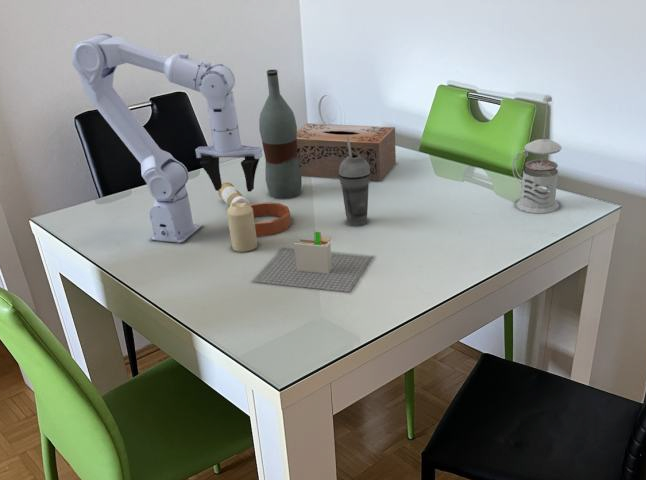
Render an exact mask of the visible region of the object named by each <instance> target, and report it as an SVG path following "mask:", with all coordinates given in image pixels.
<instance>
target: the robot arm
mask: <svg viewBox="0 0 646 480" xmlns="http://www.w3.org/2000/svg"><path fill="white" fill-rule="evenodd" d="M125 64H129V65H131V66H136V67H139V68H142V69H146V70H150V71H153V72H157V73H160V74H164V75H165V76H166V78H167V81H169V82H170V83H171V84H175V85H178V86H180V87H184V88H187V89H190V90H193V91H195V92H199V93H200V94H201V95H202V96H203V97H204V98H205V100H206V106H207V114H208V119H209V124H210V131H211V137H212V142H213V143H212V144H213V145H207V146H205V145H204V146H198V147H197V148H195V149H194V150H195V156H196V159H200V161H199V164H200V167H201V168H202V169H203V170H204V171H205V172H206V175H208V178H209V179H210V181H211V183H212V186H213V188H214V191H217V192H218V190H220V189H221V188H222V184H223V183H222V178H221V173H220V158H230V159H231V158H232V159H233V158H234V159H237V158H239V159H242V158H243V160H241V161H240V165H241V169H242V171H243V174H244V179H245V187H246V191H247V192H248V193H249V192H252V191H253V190H254V189H255V178H256V172H257V169H258V165H259V162H260V159H261V158H262V157H263V150H262V149H263V148H262V147H261V146H251V145H244V144H242V141H241V135H240V129H239V122H238V115H237V108H236V102H235V97H234V91H232V90H233V88H234V86H235V83H236V78H235V75H234V73H233V71H232V70H231V68H229V67H227V66H226V65H224V64H222V63H215V64H214V65H212V62H210V61H208V60H207V61H206V60H205V62H203V61H200V60H197V59H194V58H192V57H189V54H188V53H187V52H183V51H182V52H181V53H173V54H172V55H171V56H168V55H167V56H166V55H164V54H162V53H159V52H157V51H154V50H153V49H149V48H146V47H144V46H142V45H139V44H137V43H134V42H131V41H129V40H127V39H125V38H124V37H122V36H117V35H114V36H113V35H112V34H110V33H106V32H102V33H101V32H100V33H99V34H97V35H95V36H93V37H91V38H88V39H85V40H81V41H79V42H77V43H76V45H75V46H74V48H73V53H72V61H71V65H72V66H73V67H74V69H75V70H76V72H77V73H78V77H79V80H80V83H81V86H82V89H83V93H84V94H85V96H86V97H87V98H88V100H89V101H90V102H91V104H92V105H93V106H94V107H95V109H96V110H97V111H98V112H99V114H100V115H101V116H102V117H103V119H104V120H105V121H106V123H107V124H108V125H109V126H110V127H111V129H112V130H113V131H114V132H115V134H116V135H117V136H118V137H119V139H120V140H121V142H122V143H123V144H124V145H125V147H127V149H128V150H129V152H130V153H131V154H132V155H133V157H135V159H136V160H137V162H139V164H140V171H141V173H140V174H141V177H142V178H143V180H144V182H145V184H146V185H147V189H148V192H149V193H150V195H151V196H152V197H153V198H155V199H154V204H153V206H152V207H151V208H150V211H149V218H150V222H151V227H152V231H153V236H152V237H151V240H152V241H159V242H160V241H161V242H170V243H179V244H181V243H184V242H185V241H186V240H187V239H189V237H191V236H192V235H193V234H194V233H195V232H197V231H198V230H199V229H201V227H202V224H199V223H194V220H193V215H192V209H191V204H190V199H189V194H188V193H189V192H188V190H187V187H186V184H187V182H188V181H189V171H188V169H187V166H185V164H183V163H182V162H180V161H179V160H177V159H176V158H175V157H174V156H173V155H172V154H171V153H170V152H168V151H166V150H163V149H162V148H161V147H159V145H158V144H157V143H156V142H155V140H154V139H153V137H152V136H151V135H150V134H149V132H148V131H147V130H146V128H145V127H144V126H143V125H142V123H141V122H140V121H139V120H138V118H137V117H136V115H135V114H134V113H133V111H132V110H131V109H130V108H129V106H128V105H127V103H125V101H124V100H123V98H122V97H121V96H120V95H119V93H118V92H117V91H116V89H115V88H114V86H113V85H114V76H115V71H116V70H117V68H118V66H121V65H125Z"/></svg>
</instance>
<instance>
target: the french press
mask: <svg viewBox="0 0 646 480" xmlns="http://www.w3.org/2000/svg"><path fill="white" fill-rule="evenodd" d="M552 101H553V97H552V96H551V95H549V94H546V95H544V96H543V98H542V102H545V103H546V106H545V117H544V118H545V119H544V127H543V128H544V129H543V138H540V139H535V140H532V141H530V142H528V143H526V144H525V145H524V150H522V151H520V152H519V153H517V154H516V155H515V156H514V158H513V160H512V163H511V166H512V167H511V170H512V171H511V172H512V175H513V177H514V178H515V179H516V181H518V182H519V183H520V184H521V191H520V199H518V201H517V202H516V203H515V205H516V207H517V209H519V210H520V211H524V212H527V213H530V214H531V213H532V214H547V213H553V212H555V211H556V210H558V209H559V207H560V205H559V203H558V201H557V200H556V197H557V195H556V194H557V186H558V179H559V178H558V177H559V170H558V169H557V168H558V167H559V166H558V163H557V162H555V161H552V160H549V159H543V158H544V155H554V154H557V153H560V152H561V150H562V149H563V147H562V145H561V144H559V143H558V142H556V141H554V140H552V139H547V138H545V136H546V127H547V126H546V125H547V116H548V115H547V114H548V106H549V103H550V102H552ZM529 153H530V154H535V155H541V158H540V159H532V160H529V161H527V162H526V163H525V164H524V166H525V169H523V171H522V176H521V175H520V174H519V171H518V168H517V163H518V159H519V157H520V155H521V154H523V158H524V159H525V158H527V157H528V156H529ZM514 163H515V165H514ZM514 166H515V167H514ZM514 168H515V171H514ZM515 172H516V174H517V176H518V177H519V178H520V179H521V180H522V181H521V180H519V179H518V178H517V176H516V174H515ZM536 172H538V173H536ZM545 172H548V173H545ZM540 187H541V188H540ZM542 187H544V188H542ZM545 188H546V189H545Z"/></svg>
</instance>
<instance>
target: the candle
mask: <svg viewBox="0 0 646 480" xmlns="http://www.w3.org/2000/svg"><path fill="white" fill-rule="evenodd" d="M226 215H227V216H226V217H227V222H228V228H229V229H228V230H229V237H230V241H231V248H232V249H233V251H235V252H238V253H243V252H245V253H246V252H250V251H253V250H255V249H256V248H257V247H258V239H257V238H258V236H256V230H255V223H256V222H255V217H254V215H253V208H252V207H251V206H249V205H248V204H246V203H232V205H231V206H230V207H229V206H228V208H227V209H226ZM254 222H255V223H254Z"/></svg>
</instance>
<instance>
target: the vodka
mask: <svg viewBox="0 0 646 480" xmlns="http://www.w3.org/2000/svg"><path fill="white" fill-rule="evenodd" d="M278 73H279V71H278V69H267V70H266V77H267V78H266V79H267V88H268V96H267V98H266V101H265V103H264V104H263V106H262V109H261V111H260V113H259V118H258V119H259V120H258V122H259V124H258V125H259V126H258V127H259V129H258V130H259V134H260V139H261V143H262V149H263V154H264V158H265V172H264V173H265V174H264V175H265V183H266V187H267V191H268V194H269V196H270V197H271V198H274V199H277V200H278V199H279V200H287V199H292V198H295V197H297V196H299V195H300V194H301V189H302V180H303V179H302V177H303V176H301V172H300V167H299V163H298V159H297V130H298V126H297V121H296V117H295V114H294V111H293V109H292V108H291V106H290V105H289V104H288V103H287V101H286V100H285V99H284V97H283V96H282V95H281V91H280V84H279V74H278Z"/></svg>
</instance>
